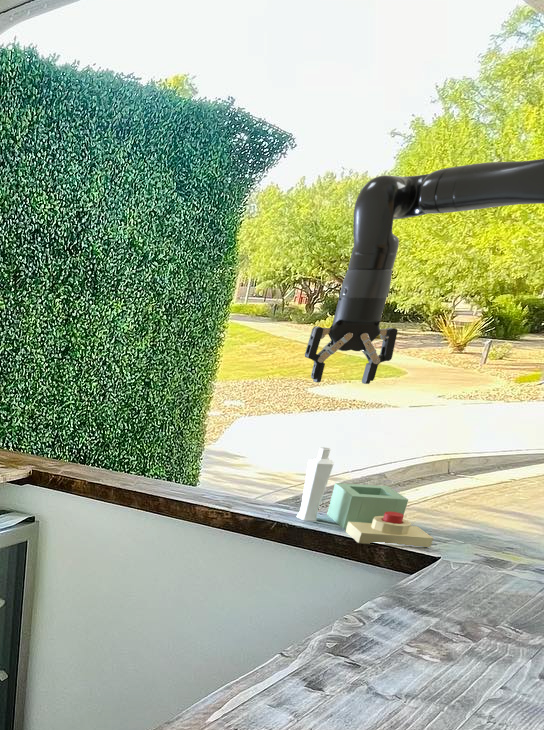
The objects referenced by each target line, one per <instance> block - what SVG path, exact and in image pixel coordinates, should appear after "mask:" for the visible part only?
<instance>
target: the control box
mask: <svg viewBox="0 0 544 730" xmlns="http://www.w3.org/2000/svg"><path fill="white" fill-rule="evenodd" d="M383 517H384V516H376V517H374V518H373V521H372V523H363V522H348V525H347V528H346V529H345V533H346V534H347V535H349V536H350V537H351V538H352V539H353V540H354V541H355V542H356V543H357V544H363V545H371V544H370V543H372V542H385V543H397V544H405V545H414V546H423V547H430V548H431V547H432V544H433V541H434V537H433V536H431V535H430V534H428V533H427V532H425V531H424V530H423V529H422V528H421V527H419V526H417V525H412V522H410V521H409V520H407V519H404V518H403V520H402V523H401V524H394V523H389V522H385V521H383Z"/></svg>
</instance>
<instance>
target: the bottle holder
mask: <svg viewBox="0 0 544 730" xmlns="http://www.w3.org/2000/svg"><path fill="white" fill-rule="evenodd" d="M408 503H409V499H408V498H407V497H405V496H403V495H402V494H400V493H399V492H398V491H396V490H394V489H393V488H391V487H390V486H388V485H376V484H374V485H373V484H361V483H360V484H357V483H343V482H342V483H341V482H335V483H334V486H333V491H332V493H331V497H330V502H329V505H328V509H327V513H326V515H327V516H328V517H329V518H330V519H331V520H332V521H334V522H335V523H336V524H337V525H338V526H339V527H340V528H341V529H343V530H346V528H347V525H348V522H363V523H372V521H373V518H374V517H376V516H384V514H385V512H397V513H401V514H403V515H404V516H405V512H406V508H407V505H408Z"/></svg>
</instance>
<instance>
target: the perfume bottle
mask: <svg viewBox="0 0 544 730" xmlns="http://www.w3.org/2000/svg"><path fill="white" fill-rule="evenodd" d="M318 449H319V450H318V454H317V456H316V457H313V458H311V459H308V461H307V466H306V467H307V468H306V474H305V479H304V485H303V490H302V497H301V503H300V509H299V512H298V513H297V515H296V518H298V519H300V520H301V521H307V522H309V521H310V522H317V521H318V511H319V508H320V506H321V503H322V500H323V497H324V494H325V492H326V488H327V485H328V482H329V479H330V476H331V473H332V471H333V467H334V463H335V461H333V460H332V459H330V458H329V456H330V453H331V450H332V448H331V447H325V446H321V447H318Z"/></svg>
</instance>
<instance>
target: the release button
mask: <svg viewBox="0 0 544 730" xmlns="http://www.w3.org/2000/svg"><path fill="white" fill-rule="evenodd" d="M404 516H405V514H404V515H403V514H401V513H397V512H385V514H384V517H383V521H385V522H389V523H394V524H401V523H402V520H403V519H404Z"/></svg>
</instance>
